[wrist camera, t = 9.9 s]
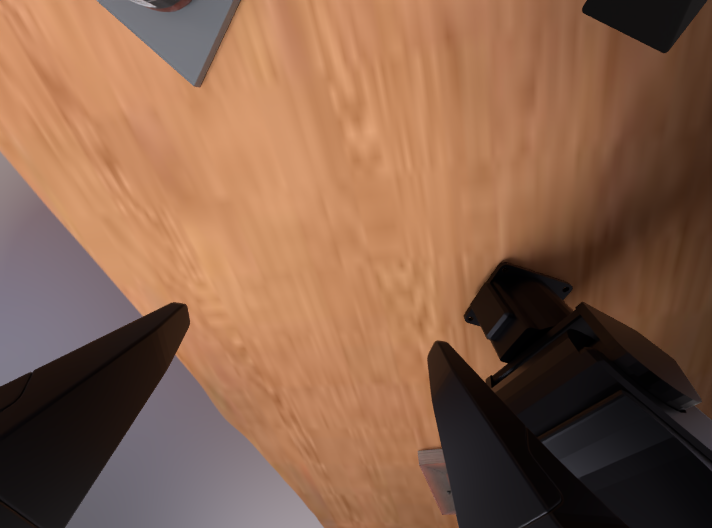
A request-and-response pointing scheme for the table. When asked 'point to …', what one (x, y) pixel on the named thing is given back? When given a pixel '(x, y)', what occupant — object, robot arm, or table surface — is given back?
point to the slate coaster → (179, 32)
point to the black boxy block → (646, 18)
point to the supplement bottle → (163, 4)
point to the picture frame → (437, 479)
